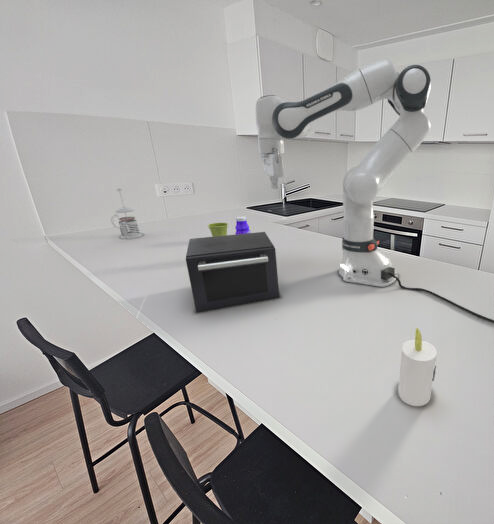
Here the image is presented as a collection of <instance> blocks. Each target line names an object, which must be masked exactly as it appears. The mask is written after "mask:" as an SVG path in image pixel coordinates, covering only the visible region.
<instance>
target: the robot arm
mask: <svg viewBox="0 0 494 524" xmlns="http://www.w3.org/2000/svg"><path fill="white" fill-rule="evenodd" d="M431 88H432V79H431V75H430V73H429V71H428V70H427V69H426V68H425V67H424V66H423V65H420V64H411V65H408V66H407V67H405V68H403V70H402V71H400V72H399V71H398V69H397V66H396V65H395V63H394V62H393V61H392V60H390V59H388V58H386V59H385V58H383V59H379V60H377V61H373V62H371V63H368V64H366V65H364V66H362V67H359V68H357V69H356V70H353V71H352V72H350V73H349V74H347V75H346V76H344V77H343V78H342V79H340V80H339V81H337V82H336V83H335V84H333V85H331V86H330V87H329V88H326V89H325V90H322V91H321V92H318V93H316V94H313V95H312V96H309V97H307V98H306V99H303V100H301V101H284V100H283V99H282V98H280V97H279V96H278V95H273V94H272V95H271V94H268V95H263V96H261V97H259V98H258V99H257V100H256V101H255V102H256V103H255V125H256V129H257V147H258V154H260V155H261V163H262V167H263V168H262V169H263V172H264V174H266V175H268V176H269V181H270V186H271V189H273V190H277V189H278V184H279V183H278V182H279V178H284V176H285V170H284V161H283V160H284V159H283V155H282V154H286V153H285V151H286V150H285V139H302V138H304V137H306V136H307V135H308V133H309V132H310V130H311V123H312V122H314V121H317V120H319V119H321V118H323V117H326V116H327V115H330V114H331V113H335V112H339V111H346V112H355V111H356V112H357V111H359V110H362V109H366V108H368V107H370V106H372V105H374V104H376V103H378V102H380V101H382V100H387V103H388V105H390V106H391V108H392V109H393V110H394V112H395V113H396V114H397V115H398V116H399V117H398V119H397V120H396V121H395V122H394V123H393V125H391V127H389V128H388V130H387V131H386V132H385V133H384V134H383V135H382V136H381V137H380V138H379V139H378V141H376V142H375V144H374V145H373V146H372V147H371V148H370V150H369V151H368V153H366V155H365V156H364V158H363V159H362V160H361V161H360V162H359V163H358V165H356V166H354V167H352V168H351V167H350V169H348V170H347V171H345V174H344V176H343V178H342V211H343V213H342V214H343V236H342V238H341V239H342V240H341V248H342V258H341V263H340V268H339V270H338V274H339V276H341V278H342V281H344V282H347V283H352V284H353V283H354V284H359V285H367V286H374V287H380V288H385V287H387V286H390V285H393V283H395V282H396V281H397V283H398V286H399V287H400V288H401V289H403V290H409V291H420V292H424V293H427V294H430V295H432V296H434V297H436V298H438V299H440V300H443V301H444V302H446V303H449V304H450V305H452V306H454V307H456V308H458V309H460V310H462V311H464V312H467V313H469V314H470V315H472V316H474V317H477V318H479V319H482V320H485V321H487V322H490V323H491V324H494V319H492V318H489V317H486V316H484V315H482V314H479V313H477V312H474V311H473V310H470V309H468V308H466V307H464V306H462V305H459V304H458V303H456V302H454V301H452V300H450V299H448V298H446V297H443V296H441V295H439V294H437V293H435V292H433V291H431V290H428V289H425V288H421V287H406V286H405V285H404V286H403V285H402V283H401V282H402V281H401V280H400V278H398V276H399V275H398V272H397V271H396V270H395V267H393V264H392V261H391V259H390V258H388V256H387V255H385V254H384V253H383V252H382V251H381V250H380V249H379V248H378V245H379V244H380V240H376V239H375V237H374V229H375V228H374V227H375V226H374V225H375V215H374V214H375V213H374V199H375V198H376V196H377V195H378V194H379V192H380V191H381V190H382V189H383V187H384V186H385V185H386V183H388V181H389V180H390V178H392V176H393V174H395V172H396V171H397V170H398V169H399V168H400V167H401V166H402V164H404V162H405V161H406V160H407V159H408V158H410V156H411V155H413V153H414V152H415V151H416V150H417V149H418V148H419V147H420V145H421V144H422V143H423V142H424V140H425V139H426V137H427V136H428V134H429V133H430V130H431V121H430V119H429V117H428V116H427V114H426V113H425V112H424V108H425V107H426V106H427V103H428V99H429V96H430V93H431Z"/></svg>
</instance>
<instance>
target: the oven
mask: <svg viewBox="0 0 494 524" xmlns="http://www.w3.org/2000/svg"><path fill="white" fill-rule="evenodd" d="M187 244H188V245H187V250H186V253H185V258H186V257H190V256H199V255H207V254H216V253H225V252H234V251H242V250H251V249H260V248H269V247H275V245H274V244H273V242H272V240H271V239H270V237H269V236H268V234H267V233H266V231H257V232H251V233H246V234H236V235H235V234H227V235H225V236H215V237H212V236H205V237H193V238H189V240H188V243H187Z"/></svg>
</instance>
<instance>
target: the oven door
mask: <svg viewBox="0 0 494 524" xmlns="http://www.w3.org/2000/svg"><path fill="white" fill-rule="evenodd" d="M276 251H277V250H276V247H275V246H274V247H269V248H260V249H251V250H242V251H234V252H225V253H216V254H207V255H199V256H190V257H186V256H185V262H186V268H187V272H188V278H189V282H190V288H191V293H192V298H193V303H194V306H195V307H194V308H195V313H201V312H202V313H203V312H208V311H213V310H218V309H223V308H231V307H234V306H241V305H247V304H253V303H256V302H263V301H268V300H273V299H279V298H280V288H279V277H278V265H277V254H276V253H277V252H276Z"/></svg>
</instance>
